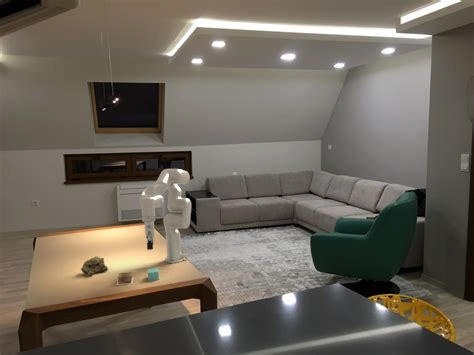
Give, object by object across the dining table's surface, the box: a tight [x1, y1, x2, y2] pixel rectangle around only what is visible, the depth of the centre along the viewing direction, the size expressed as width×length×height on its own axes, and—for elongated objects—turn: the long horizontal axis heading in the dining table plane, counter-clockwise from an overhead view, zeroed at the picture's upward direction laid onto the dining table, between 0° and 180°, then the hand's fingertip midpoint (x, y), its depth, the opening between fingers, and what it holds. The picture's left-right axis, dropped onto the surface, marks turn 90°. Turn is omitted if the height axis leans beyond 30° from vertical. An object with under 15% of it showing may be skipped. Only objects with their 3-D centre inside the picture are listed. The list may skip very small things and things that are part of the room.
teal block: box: [147, 267, 160, 281], centre depth 231 cm, size 6×6×6 cm
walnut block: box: [117, 271, 133, 285], centre depth 228 cm, size 7×7×4 cm
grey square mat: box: [116, 277, 134, 286], centre depth 228 cm, size 16×14×1 cm
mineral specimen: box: [80, 255, 109, 275], centre depth 246 cm, size 14×13×10 cm
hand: (150, 247), depth 230 cm, fingers open, 9 cm apart
